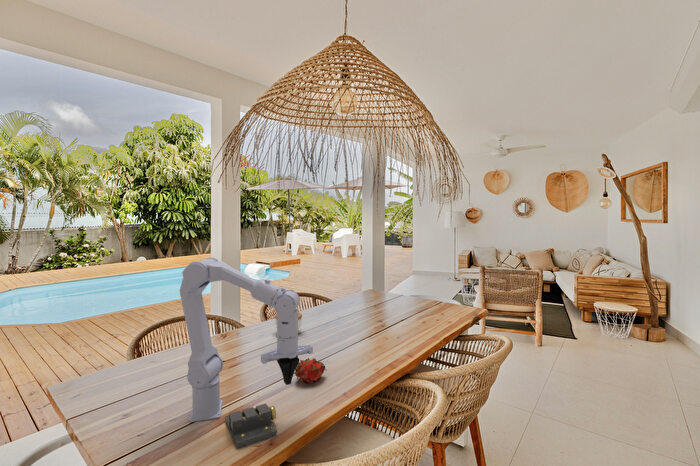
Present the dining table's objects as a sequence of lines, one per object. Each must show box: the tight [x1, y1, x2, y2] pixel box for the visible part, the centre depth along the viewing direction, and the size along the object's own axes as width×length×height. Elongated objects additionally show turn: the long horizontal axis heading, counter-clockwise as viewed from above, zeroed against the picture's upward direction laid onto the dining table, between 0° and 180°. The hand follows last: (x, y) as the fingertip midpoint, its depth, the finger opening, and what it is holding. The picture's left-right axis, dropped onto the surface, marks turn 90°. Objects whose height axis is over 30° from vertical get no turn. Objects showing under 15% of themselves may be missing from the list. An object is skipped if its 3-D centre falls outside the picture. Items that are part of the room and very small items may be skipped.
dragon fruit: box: [294, 357, 326, 385], centre depth 121 cm, size 8×8×12 cm
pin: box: [230, 405, 277, 429], centre depth 94 cm, size 3×11×3 cm, turn 121°
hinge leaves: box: [224, 403, 278, 450], centre depth 94 cm, size 13×10×4 cm
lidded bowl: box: [274, 311, 303, 332], centre depth 168 cm, size 13×13×11 cm
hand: (287, 382), depth 99 cm, fingers closed
